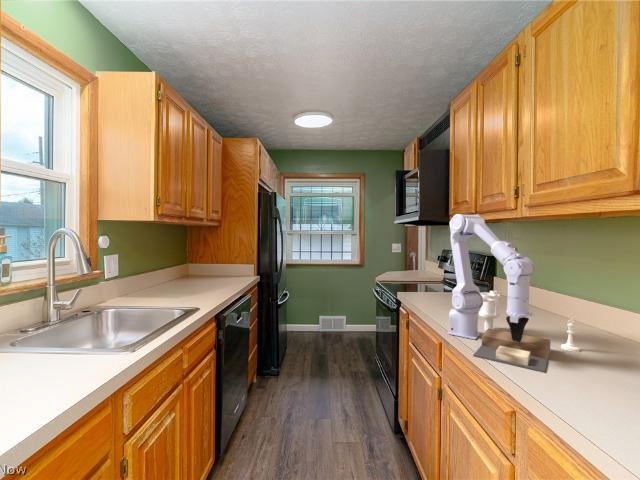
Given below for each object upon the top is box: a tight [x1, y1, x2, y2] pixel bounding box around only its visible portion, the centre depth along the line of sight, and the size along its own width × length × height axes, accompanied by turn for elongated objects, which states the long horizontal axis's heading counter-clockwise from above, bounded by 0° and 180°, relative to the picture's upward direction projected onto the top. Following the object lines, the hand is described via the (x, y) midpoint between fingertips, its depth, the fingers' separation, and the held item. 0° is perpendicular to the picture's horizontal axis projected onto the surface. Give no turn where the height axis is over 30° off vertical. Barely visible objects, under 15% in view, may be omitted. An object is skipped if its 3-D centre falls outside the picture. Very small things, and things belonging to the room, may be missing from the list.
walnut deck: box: [481, 328, 551, 360], centre depth 106 cm, size 18×10×4 cm, turn 52°
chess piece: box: [560, 318, 580, 353], centre depth 106 cm, size 5×5×10 cm
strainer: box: [478, 290, 501, 332], centre depth 125 cm, size 7×7×15 cm
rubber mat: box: [472, 344, 549, 374], centre depth 98 cm, size 18×10×1 cm, turn 52°
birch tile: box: [496, 346, 530, 366], centre depth 96 cm, size 8×6×2 cm
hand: (516, 340), depth 101 cm, fingers closed
